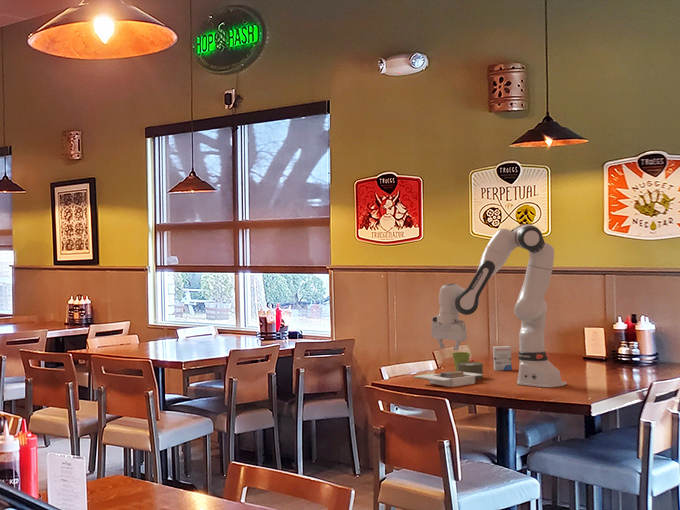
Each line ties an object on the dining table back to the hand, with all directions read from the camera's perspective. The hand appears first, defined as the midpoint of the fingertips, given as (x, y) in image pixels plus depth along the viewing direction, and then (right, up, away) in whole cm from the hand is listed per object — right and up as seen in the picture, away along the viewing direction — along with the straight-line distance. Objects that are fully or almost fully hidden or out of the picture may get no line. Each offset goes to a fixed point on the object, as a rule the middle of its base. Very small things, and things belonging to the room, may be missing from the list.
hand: (448, 349), depth 368 cm
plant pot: (+12, -16, +41) cm, 46 cm away
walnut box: (+2, -16, 0) cm, 16 cm away
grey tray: (+2, -16, 0) cm, 16 cm away
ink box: (+32, -15, +40) cm, 54 cm away
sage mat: (-6, -16, +20) cm, 26 cm away
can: (+12, -16, +16) cm, 26 cm away
